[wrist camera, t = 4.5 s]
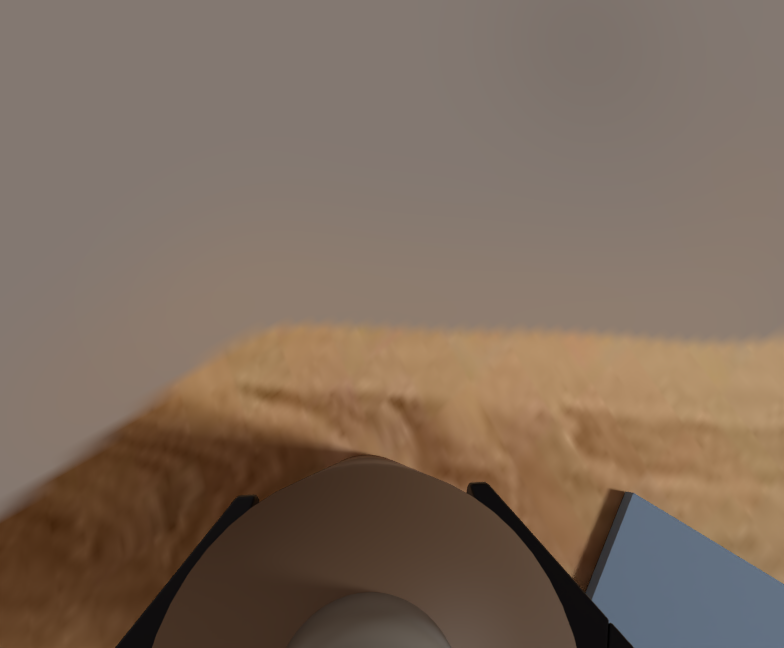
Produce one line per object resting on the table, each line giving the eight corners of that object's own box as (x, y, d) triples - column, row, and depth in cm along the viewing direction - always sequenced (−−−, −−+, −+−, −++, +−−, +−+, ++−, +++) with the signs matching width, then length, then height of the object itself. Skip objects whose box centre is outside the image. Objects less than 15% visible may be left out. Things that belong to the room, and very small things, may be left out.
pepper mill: (387, 621, 14) (499, 1541, 2) (277, 545, 15) (-118, 969, 3) (451, 497, 16) (744, 662, 4) (348, 431, 16) (293, 376, 4)
